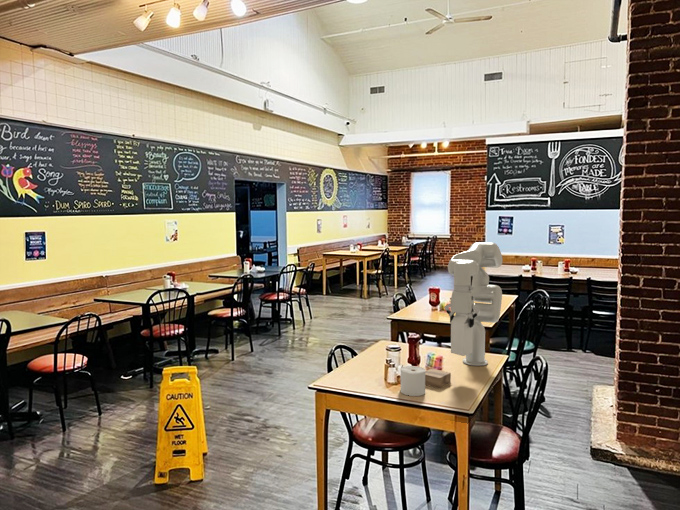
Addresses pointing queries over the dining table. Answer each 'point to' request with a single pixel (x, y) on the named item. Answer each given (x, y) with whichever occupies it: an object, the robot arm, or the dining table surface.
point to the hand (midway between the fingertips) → (461, 325)
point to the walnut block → (437, 378)
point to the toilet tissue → (412, 380)
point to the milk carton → (461, 335)
